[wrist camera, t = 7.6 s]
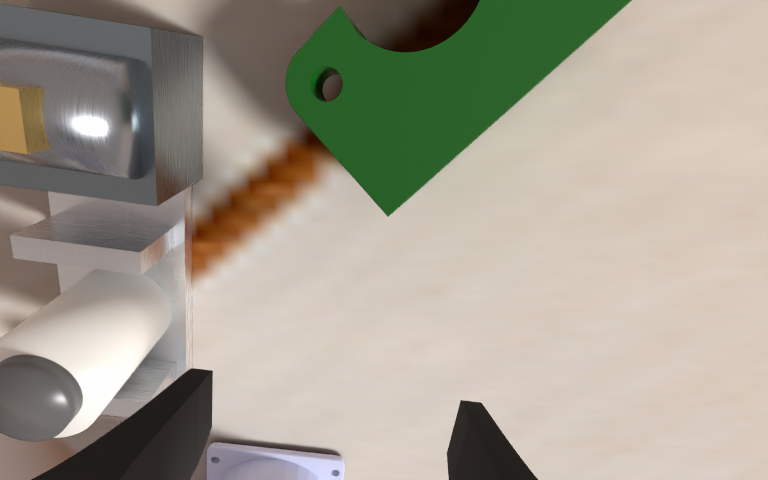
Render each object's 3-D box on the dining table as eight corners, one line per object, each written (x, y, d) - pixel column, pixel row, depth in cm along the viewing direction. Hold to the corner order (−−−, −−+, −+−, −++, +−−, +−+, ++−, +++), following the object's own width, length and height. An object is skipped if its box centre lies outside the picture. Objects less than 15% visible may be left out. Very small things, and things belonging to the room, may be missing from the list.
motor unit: (201, 371, 24) (132, 486, 18) (69, 355, 24) (-53, 467, 17) (202, 36, 18) (97, 18, 12) (26, 8, 18) (-188, -28, 11)
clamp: (474, -26, 21) (584, -245, 12) (555, 68, 22) (721, -80, 13) (281, 128, 20) (246, 2, 11) (372, 230, 20) (414, 191, 11)
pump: (185, 294, 22) (106, 389, 15) (150, 359, 23) (64, 471, 17) (94, 249, 21) (-30, 331, 14) (64, 320, 22) (-61, 422, 16)
